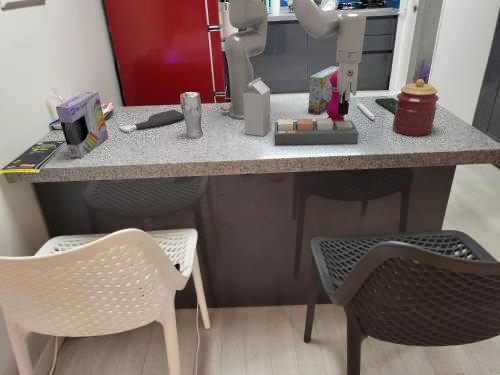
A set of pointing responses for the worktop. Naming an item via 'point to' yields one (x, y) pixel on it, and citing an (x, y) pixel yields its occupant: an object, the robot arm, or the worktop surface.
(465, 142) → the worktop surface
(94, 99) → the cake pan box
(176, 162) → the worktop surface
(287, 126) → the key white left
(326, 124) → the key white mid
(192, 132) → the beer glass
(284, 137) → the keypad
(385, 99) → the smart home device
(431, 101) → the canister
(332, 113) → the pepper mill
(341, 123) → the key sage
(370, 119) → the marker
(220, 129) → the worktop surface
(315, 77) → the snack box
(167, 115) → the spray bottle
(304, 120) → the key terracotta
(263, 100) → the milk carton
